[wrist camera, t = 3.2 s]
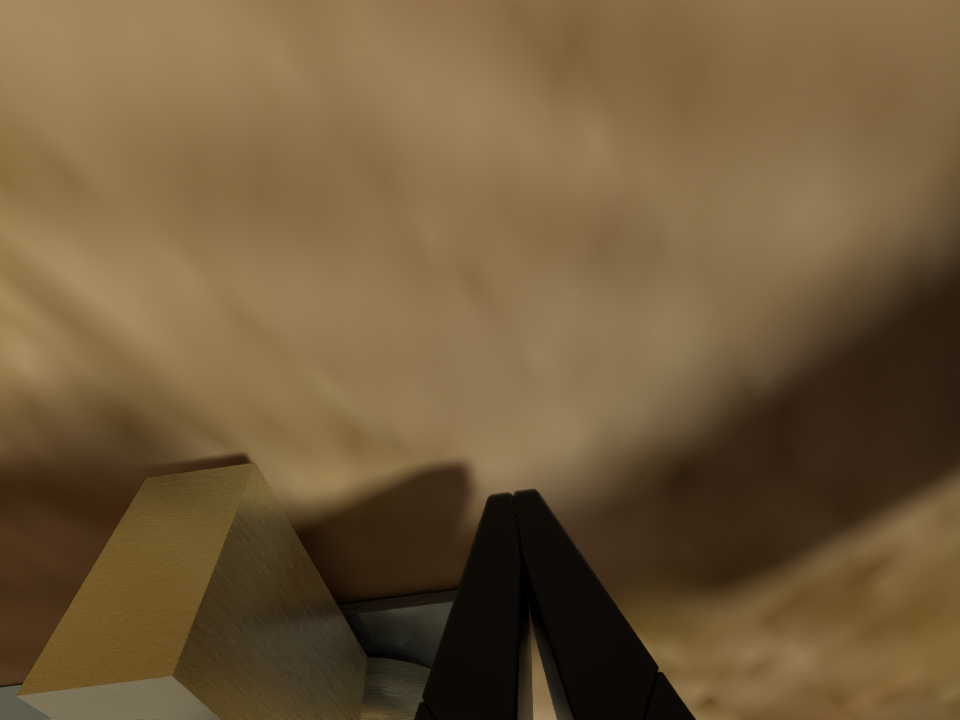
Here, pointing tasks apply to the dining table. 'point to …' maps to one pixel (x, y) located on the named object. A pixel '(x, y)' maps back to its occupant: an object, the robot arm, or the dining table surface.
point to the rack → (17, 706)
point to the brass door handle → (212, 620)
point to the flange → (401, 626)
